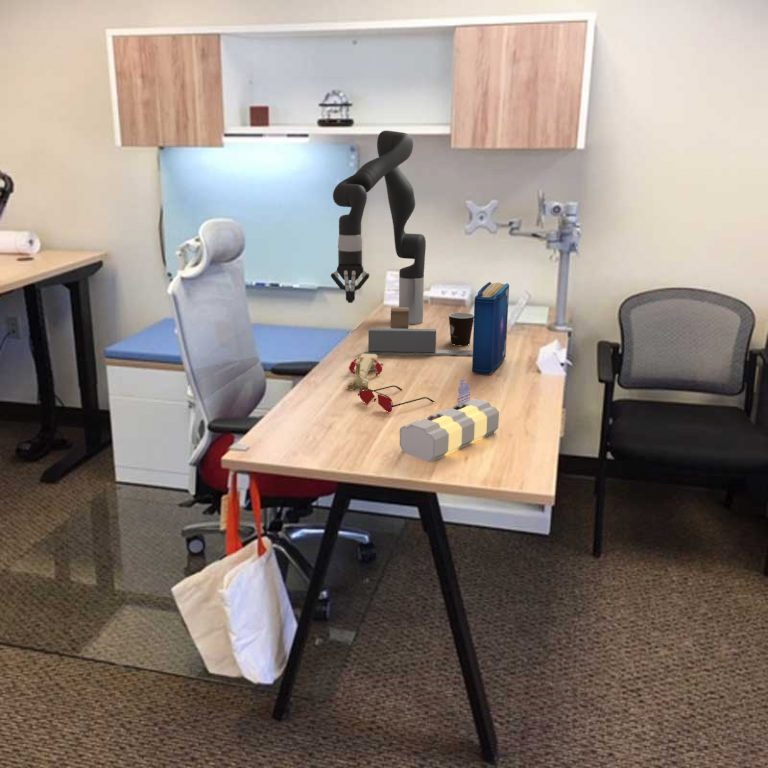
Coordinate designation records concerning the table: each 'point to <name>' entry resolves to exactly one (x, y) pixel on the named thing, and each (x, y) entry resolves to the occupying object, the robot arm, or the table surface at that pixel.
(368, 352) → the rail
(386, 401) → the glasses
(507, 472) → the table surface
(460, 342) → the coffee mug
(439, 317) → the table surface
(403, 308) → the walnut block
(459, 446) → the grey yellow banded box
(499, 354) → the book
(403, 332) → the panel
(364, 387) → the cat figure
